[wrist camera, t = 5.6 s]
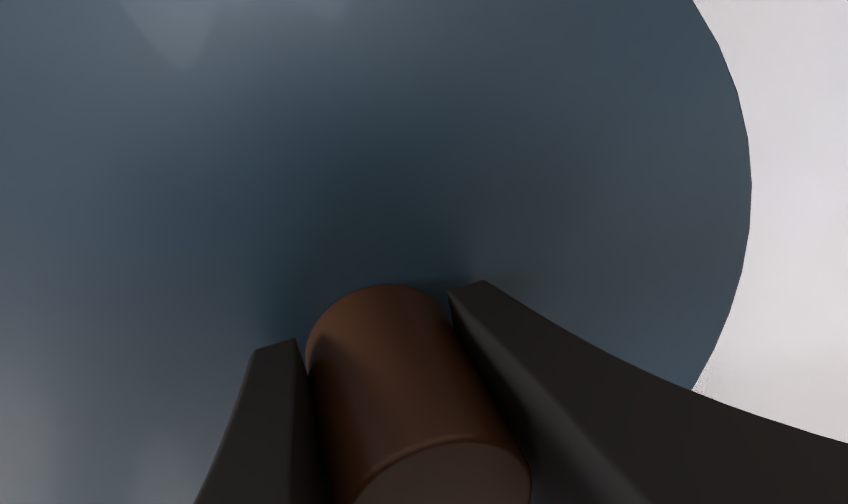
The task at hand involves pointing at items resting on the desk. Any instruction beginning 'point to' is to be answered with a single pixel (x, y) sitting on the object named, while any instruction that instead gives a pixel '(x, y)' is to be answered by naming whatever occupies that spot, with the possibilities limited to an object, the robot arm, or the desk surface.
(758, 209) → the desk surface
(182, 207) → the lid
